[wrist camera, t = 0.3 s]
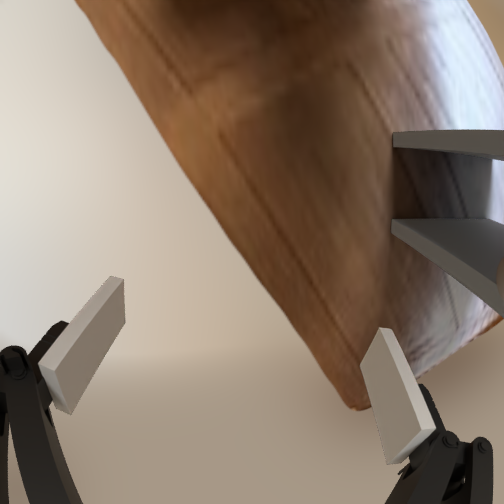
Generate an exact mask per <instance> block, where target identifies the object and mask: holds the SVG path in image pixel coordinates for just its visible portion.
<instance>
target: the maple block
mask: <svg viewBox="0 0 504 504" xmlns="http://www.w3.org/2000/svg"><path fill="white" fill-rule="evenodd" d="M496 283H497V288H498V292H499V294H500V296H501V298H502V299H503V300H504V257H503V258H502V259H501V261H500V263H499V265H498V268H497V273H496Z"/></svg>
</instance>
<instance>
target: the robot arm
mask: <svg viewBox="0 0 504 504" xmlns="http://www.w3.org/2000/svg"><path fill="white" fill-rule="evenodd" d="M124 324H125V304H124V279H121V278H117V277H113V276H110V277H109V278H108V279H107V280H106V281H105V283H104V284H103V285H102V286H101V287H100V288H99V289H98V290H97V292H96V293H95V294H94V295H93V296H92V297H91V298H90V300H89V301H88V302H87V303H86V304H85V306H84V307H83V308H82V309H81V311H79V313H78V314H77V315H76V316H75V318H74V319H73V320H72V321H71V322H70V323H67V322H64V321H60V322H58V323H56V324H55V325H53V326H52V327H51V328H50V329H49V330H48V331H47V333H46V335H44V336H43V338H42V339H41V340H40V341H39V342H38V343H37V345H36V346H35V347H34V348H33V350H32V351H31V352H30V353H29V354H28V355H27V353H26V351H25V350H24V349H23V348H22V347H20V346H9V347H6V348H4V349H3V350H2V351H1V352H0V504H9V497H8V463H7V461H8V435H9V422H10V428H11V434H12V439H13V444H14V448H15V453H16V458H17V462H18V465H19V470H20V473H21V477H22V481H23V484H24V488H25V491H26V494H27V497H28V500H29V503H30V504H83V503H82V501H81V498H80V496H79V494H78V492H77V489H76V487H75V485H74V482H73V479H72V477H71V474H70V472H69V469H68V466H67V464H66V461H65V458H64V455H63V452H62V449H61V446H60V443H59V440H58V437H57V433H56V430H55V426H54V423H53V419H52V415H51V411H50V409H49V405H50V404H51V402H52V400H53V403H54V405H55V407H56V409H58V410H60V411H63V412H65V413H68V414H70V415H72V413H73V411H74V409H75V407H76V406H77V404H78V402H79V400H80V398H81V397H82V395H83V393H84V391H85V389H86V388H87V386H88V384H89V382H90V380H91V379H92V377H93V375H94V374H95V372H96V370H97V369H98V367H99V365H100V363H101V362H102V360H103V358H104V357H105V355H106V353H107V352H108V350H109V348H110V347H111V345H112V343H113V342H114V340H115V338H116V337H117V335H118V334H119V332H120V330H121V329H122V327H123V326H124ZM360 368H361V371H362V374H363V378H364V381H365V385H366V388H367V391H368V395H369V398H370V402H371V405H372V409H373V412H374V416H375V420H376V423H377V427H378V431H379V435H380V439H381V442H382V447H383V451H384V455H385V459H386V463H387V465H389V464H398V463H402V462H403V461H404V460H405V459H406V458H407V457H408V456H409V460H410V463H409V464H407V465H406V466H405V467H404V468H403V469H402V470H400V471H399V473H398V475H400V474H401V473H402V472H403V473H402V475H401V477H400V479H399V480H398V482H397V484H396V486H395V487H394V489H393V491H392V492H391V494H390V496H389V497H388V499H387V501H386V503H385V504H492V501H493V449H492V445H491V443H490V442H489V441H488V440H487V439H486V438H484V437H477V438H476V439H474V441H472V442H471V443H466V442H461V441H459V438H458V437H457V436H456V435H455V434H454V433H453V432H450V431H446V429H445V427H444V425H443V422H442V420H441V418H440V415H439V413H438V411H437V409H436V408H435V404H434V401H432V400H433V399H432V397H431V395H430V393H429V391H428V390H427V389H426V387H425V386H424V385H423V384H417V382H416V379H415V377H414V375H413V373H412V371H411V368H410V366H409V364H408V362H407V360H406V358H405V356H404V353H403V351H402V349H401V347H400V345H399V343H398V341H397V339H396V337H395V335H394V333H393V331H392V329H388V328H381V327H379V329H378V331H377V333H376V335H375V337H374V339H373V341H372V343H371V345H370V347H369V349H368V351H367V353H366V354H365V356H364V358H363V360H362V362H361V364H360ZM464 478H465V483H464Z"/></svg>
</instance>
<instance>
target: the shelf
mask: <svg viewBox="0 0 504 504" xmlns="http://www.w3.org/2000/svg"><path fill="white" fill-rule="evenodd" d="M393 147H400V148H412V149H422V150H432V151H441V152H449V153H456V154H463V155H470V156H477V157H483V158H489V159H495V160H501V161H504V130H427V131H408V132H393ZM391 233H392V234H393V235H395V236H396V237H398V238H399V239H401V240H402V241H403V242H405V243H406V244H408V245H409V246H411V247H412V248H414V249H415V250H416V251H418V252H419V253H421V254H422V255H424V256H425V257H426V258H428V259H429V260H430V261H432V262H433V263H435V264H436V265H437V266H439V267H440V268H441V269H443V270H444V271H445V272H447V273H448V274H449V275H451V276H452V277H453V278H455V279H456V280H457V281H459V282H460V283H461V284H463V285H464V286H465V287H466V288H468V289H469V290H470V291H471V292H473V293H474V294H475V295H476V296H478V297H479V298H480V299H481V300H483V301H484V302H485V303H486V304H488V305H489V306H490V307H491V308H492V309H494V310H495V311H496V312H497V313H498V314H500V315H501V316H502V317H503V318H504V300H503V299H502V298H501V296H500V294H499V292H498V288H497V283H496V273H497V268H498V265H499V263H500V261H501V259H502V258H503V257H504V225H503V224H500V223H498V222H496V221H493V220H491V219H392V222H391Z"/></svg>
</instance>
